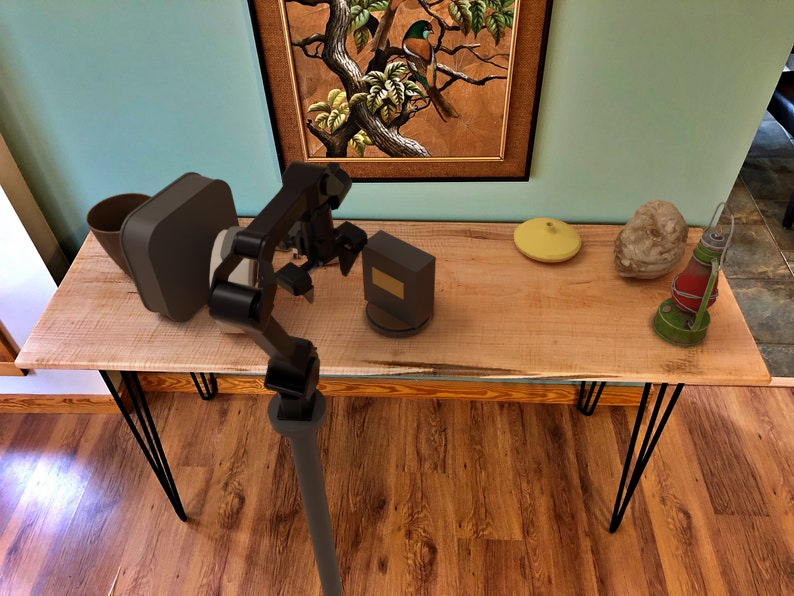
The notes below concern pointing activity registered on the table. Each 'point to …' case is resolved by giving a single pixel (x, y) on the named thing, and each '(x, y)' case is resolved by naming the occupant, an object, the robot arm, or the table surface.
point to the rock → (651, 241)
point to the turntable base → (395, 332)
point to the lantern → (694, 290)
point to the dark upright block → (397, 282)
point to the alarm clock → (243, 273)
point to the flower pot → (113, 223)
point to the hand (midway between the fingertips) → (327, 289)
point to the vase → (547, 240)
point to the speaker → (177, 243)
